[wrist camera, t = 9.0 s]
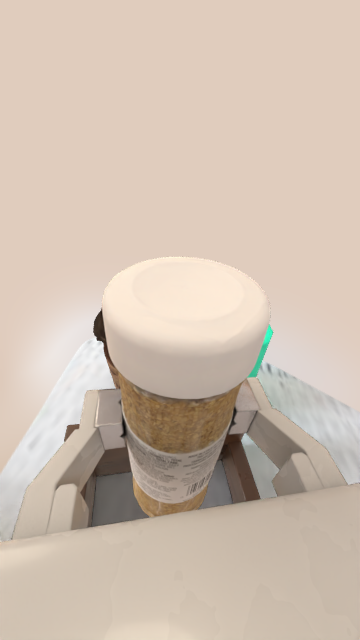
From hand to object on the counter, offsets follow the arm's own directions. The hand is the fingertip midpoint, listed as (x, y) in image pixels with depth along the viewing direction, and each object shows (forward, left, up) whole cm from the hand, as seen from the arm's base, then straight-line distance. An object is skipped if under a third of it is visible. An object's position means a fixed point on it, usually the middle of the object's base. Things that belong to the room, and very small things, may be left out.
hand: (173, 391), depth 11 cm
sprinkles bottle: (0, -1, -8) cm, 8 cm away
